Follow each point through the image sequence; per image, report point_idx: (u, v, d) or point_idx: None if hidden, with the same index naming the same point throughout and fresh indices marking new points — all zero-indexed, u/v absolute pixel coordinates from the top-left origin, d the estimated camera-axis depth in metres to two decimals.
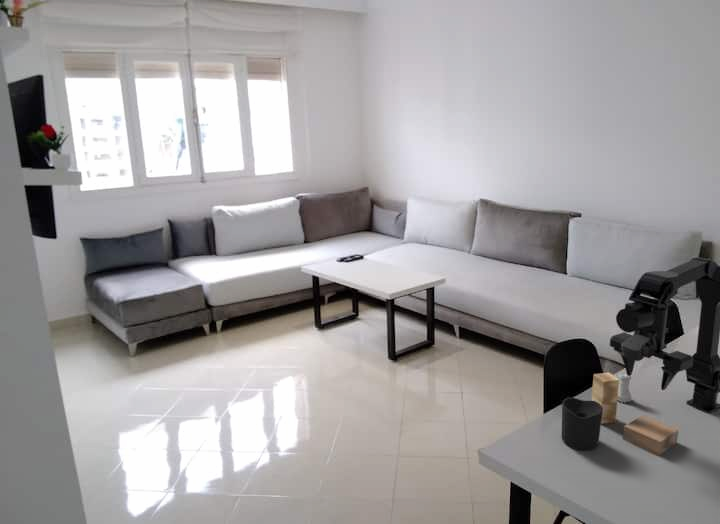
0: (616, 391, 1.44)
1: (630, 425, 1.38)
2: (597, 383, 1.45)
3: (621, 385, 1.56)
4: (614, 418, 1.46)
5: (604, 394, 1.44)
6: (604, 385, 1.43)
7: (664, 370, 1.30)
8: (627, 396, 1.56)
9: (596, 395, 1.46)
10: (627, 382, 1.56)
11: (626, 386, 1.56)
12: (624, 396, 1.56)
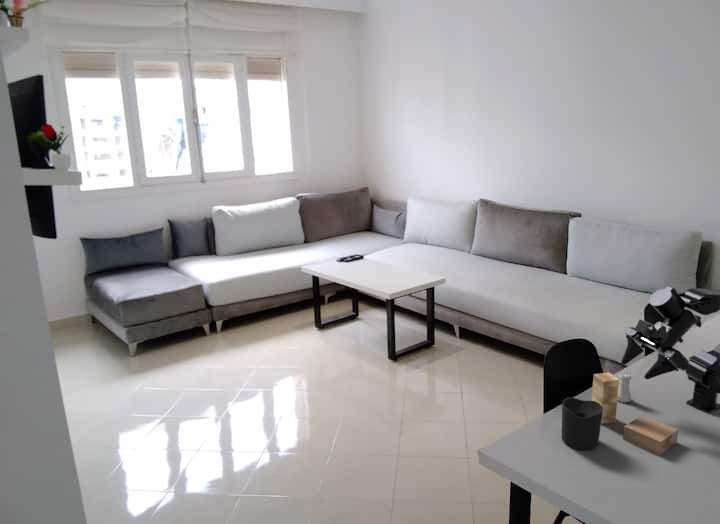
0: (616, 391, 1.44)
1: (630, 425, 1.38)
2: (597, 383, 1.45)
3: (621, 385, 1.56)
4: (614, 418, 1.46)
5: (604, 394, 1.44)
6: (604, 385, 1.43)
7: (659, 357, 1.40)
8: (628, 396, 1.56)
9: (596, 395, 1.46)
10: (627, 382, 1.55)
11: (626, 386, 1.56)
12: (624, 396, 1.56)
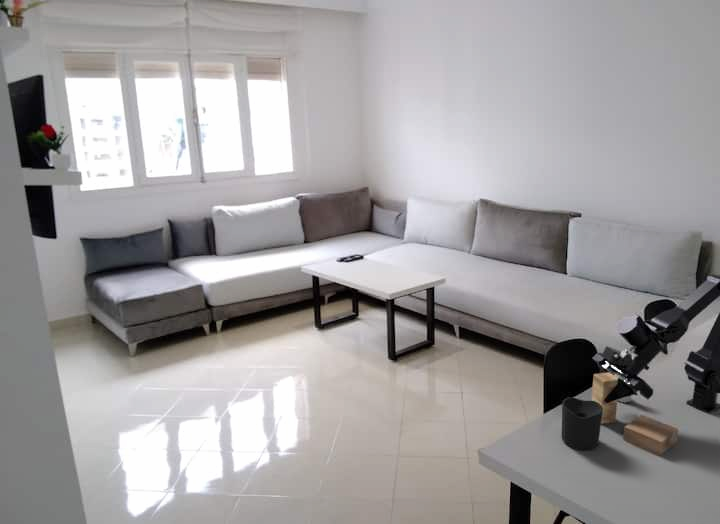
0: None
1: (630, 425, 1.38)
2: (597, 383, 1.45)
3: None
4: (614, 418, 1.46)
5: (604, 394, 1.44)
6: (604, 385, 1.43)
7: (619, 382, 1.42)
8: (628, 396, 1.56)
9: (596, 395, 1.46)
10: None
11: None
12: None
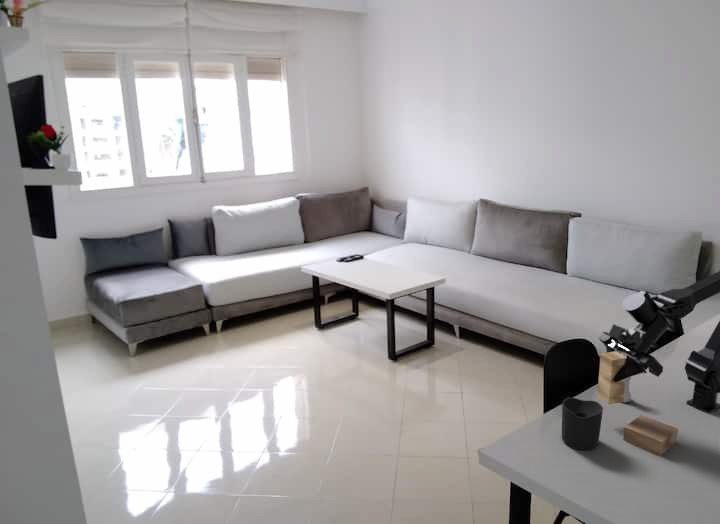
0: None
1: (630, 426, 1.38)
2: (605, 362, 1.42)
3: None
4: (622, 397, 1.43)
5: (612, 373, 1.40)
6: (613, 364, 1.40)
7: (627, 360, 1.39)
8: (628, 396, 1.56)
9: (604, 375, 1.43)
10: (627, 382, 1.56)
11: (626, 386, 1.56)
12: (624, 396, 1.56)
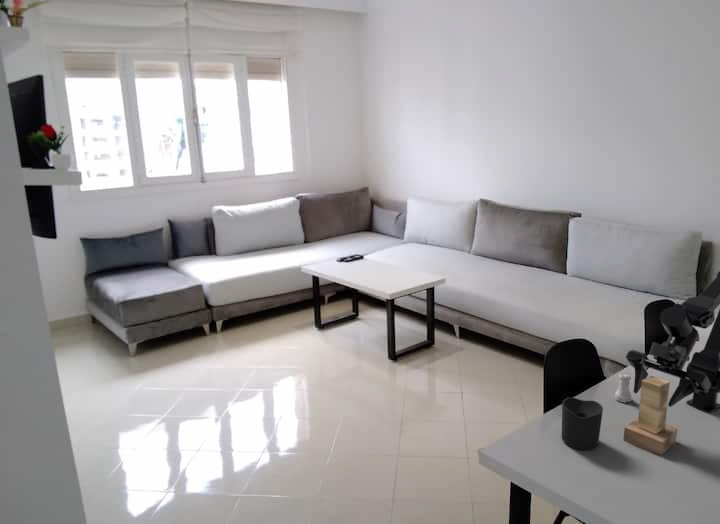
0: (667, 395, 1.34)
1: (630, 426, 1.38)
2: (649, 389, 1.33)
3: (621, 385, 1.56)
4: (664, 424, 1.36)
5: (659, 400, 1.32)
6: (660, 390, 1.32)
7: (682, 381, 1.30)
8: (628, 396, 1.56)
9: (647, 403, 1.34)
10: (627, 382, 1.56)
11: (626, 386, 1.56)
12: (624, 396, 1.56)
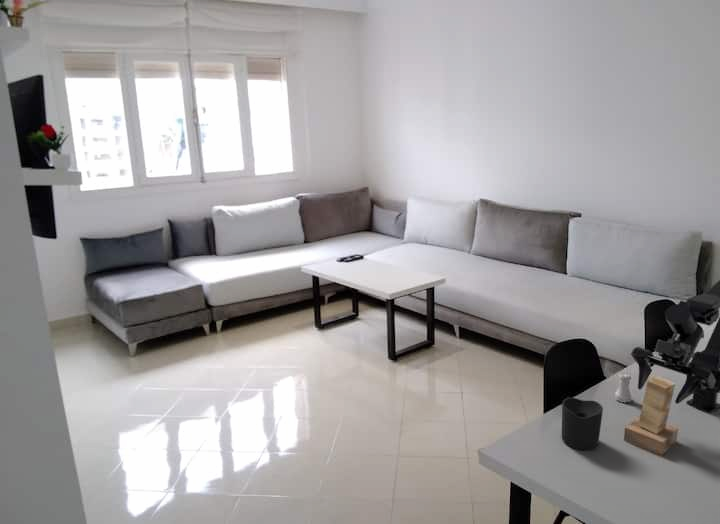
0: (671, 396, 1.34)
1: (631, 426, 1.38)
2: (654, 390, 1.33)
3: (621, 385, 1.56)
4: (665, 424, 1.36)
5: (663, 401, 1.32)
6: (665, 392, 1.31)
7: (689, 378, 1.31)
8: (628, 396, 1.56)
9: (651, 403, 1.34)
10: (627, 382, 1.56)
11: (626, 386, 1.56)
12: (624, 396, 1.56)
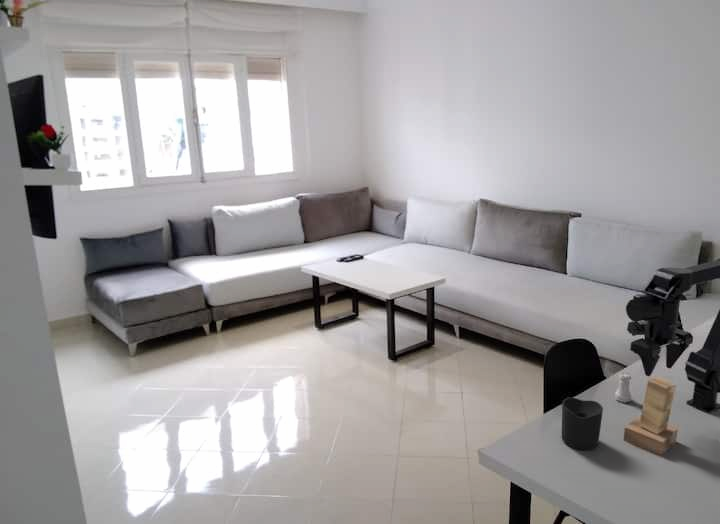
0: (672, 396, 1.33)
1: (630, 426, 1.38)
2: (655, 389, 1.33)
3: (621, 385, 1.56)
4: (666, 425, 1.35)
5: (664, 401, 1.32)
6: (666, 392, 1.31)
7: None
8: (628, 396, 1.56)
9: (651, 403, 1.34)
10: (627, 382, 1.56)
11: (626, 386, 1.56)
12: (624, 396, 1.56)
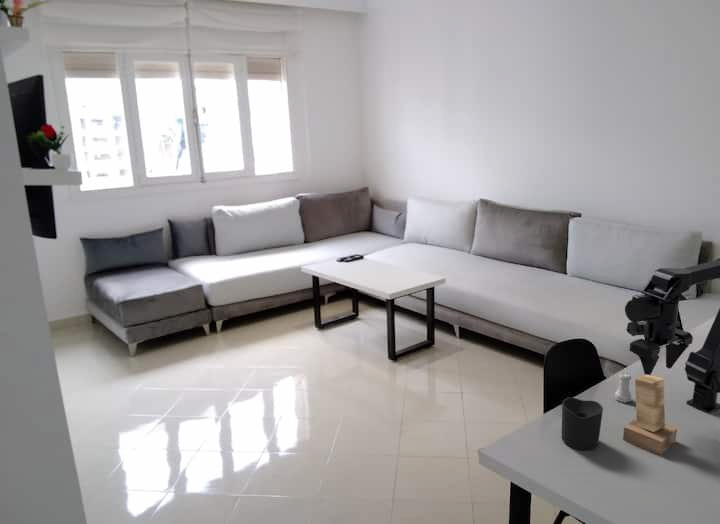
0: (662, 392, 1.35)
1: (630, 426, 1.38)
2: (643, 387, 1.35)
3: (621, 385, 1.56)
4: (664, 422, 1.36)
5: (653, 397, 1.33)
6: (653, 387, 1.33)
7: None
8: (628, 396, 1.56)
9: (643, 401, 1.35)
10: (627, 382, 1.56)
11: (626, 386, 1.56)
12: (624, 396, 1.56)
